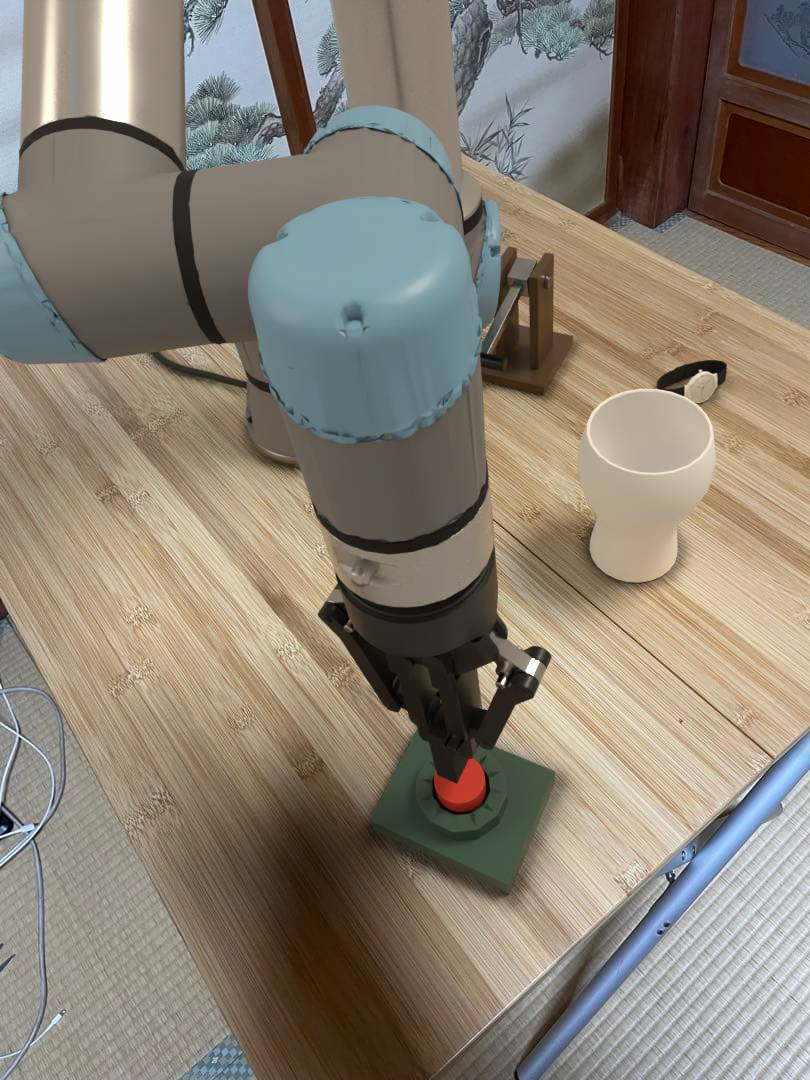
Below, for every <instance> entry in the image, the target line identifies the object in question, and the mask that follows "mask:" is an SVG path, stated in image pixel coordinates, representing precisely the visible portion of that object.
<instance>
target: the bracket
mask: <svg viewBox="0 0 810 1080" xmlns="http://www.w3.org/2000/svg"><path fill="white" fill-rule="evenodd" d="M500 256H501V276H500V289H499V298H498V304H497V309H496V313H495V316H494V318H493V320H494V319H495V317H496V315H497V313H498V311H499V309H500V307H501V305H502V303H503V301H504V299H505V297H506V295H507V293H508V291H509V288H508V281H507V276H508V274H509V272H510V270H511V268H512V266H513V264H514V262H515V260H516V258H517V257H518V248H517V247H514V246H507V247H506V249H505V250H504V252H503V253H502V254H501V255H500ZM554 273H555V254H554V253H552V252H544V253H543V255H542V256H541V257H540V259H539V260H538V261H537V265H536V267H535V268H534V270H533V271H532V273H531V274H530V276H529V297H528V308H529V309H528V310H529V312H528V313H529V314H528V315H529V316H528V317H529V319H528V320H529V326H527V325H522V324H520V313H519V311H520V309H519V308H520V307H519V302H518V303H517V305H516V307H515V309H514V311H513V313H512V315H511V317H510V319H509V321H508V323H507V325H506V327H505V329H504V331H503V333H502V335H501V337H500V339H499V341H498V343H497V345H496V347H495V349H494V351H493V353H492V354H493V355H497V356H502V357H506V358H507V359H508V363H507V368H506V370H505V371H504V372H499V371H495V370H490V369H486V368H481V374H482V382H486V383H490V384H493V385H498V386H503V387H508V388H510V389H511V388H512V389H516V390H521V391H524V392H528V393H533V394H537V395H541V396H544V395H545V394H546V392H547V390H548V389H549V387H550V385H551V383H552V382H553V380H554V378H555V377H556V374H557V373H558V371H559V369H560V368H561V367H562V365H563V362H564V361H565V359H566V357H567V356H568V354H569V352H570V350H571V348H572V347H573V345H574V335H572V334H567V333H562V332H558V331H554V291H555V290H554V287H555V286H554V285H555V284H554V283H555V281H554V278H555V276H554V275H555V274H554Z"/></svg>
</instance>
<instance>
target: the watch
mask: <svg viewBox="0 0 810 1080" xmlns="http://www.w3.org/2000/svg"><path fill="white" fill-rule="evenodd" d="M727 372H728V364H727V363H726V362H725V361H723V360H718V359H704V360H699V361H694V362H689V363H684V364H683V365H680V366H677V367H675V368H674V369H672V370H670V371H667V372H665V373H664V374H662V375H661V376H660V377H659V378H658V380H657V381H656V389H659V390H664V391H670V392H673V393H676V394H679V395H681V396H684V397H686V398H688V399H689V400H691V401H692V402H694V403H696V404H697V403H699V404H700V403H704V402H706V401H707V400H709V398H710V397H712V395H713V394H714V392H715V391H716V389H717V388H718V387H720V386H722V385H723V384H724V383H725V382H726V379H727ZM688 379H690V380H689V381H688V383H687V384H685V385H683V386H681V387H675V388H667V387H669V386H671V385H673V384H676V383H678V382H681V381H684V380H688Z"/></svg>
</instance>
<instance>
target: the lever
mask: <svg viewBox="0 0 810 1080" xmlns="http://www.w3.org/2000/svg"><path fill="white" fill-rule="evenodd" d="M537 264H538V260H536V259H530V258H526V257H525V258H524V257H518V256H517V258H516V260H515V262H514V264H513V266H512V268H511V270H510V272H509V274H508V276H507V281H508V288H509V291H508V293H507V295H506V297H505V299H504V301H503V303H502V305H501V307H500V309H499V311H498V313H497V315H496V317H495V319H494V318H493V320H492V322H491V325H490V327H489V329H488V331H487V333H486V334H485V336H484V338H483V339H482V349H481V353H480V361H481V368H486V369H490V370H495V371H499V372H504V371H505V370H506V368H507V363H508V359H507V358H506V357H502V356H497V355H493V354H492V353H493V351H494V349H495V347H496V345H497V343H498V341H499V339H500V337H501V335H502V333H503V331H504V329H505V327H506V325H507V323H508V321H509V319H510V317H511V315H512V313H513V311H514V309H515V307H516V305H517V303H518V304H519V301H520V299H521V297H524V298H529V276H530V274H531V273H532V271H533V270H534V268H535V267H536V265H537Z"/></svg>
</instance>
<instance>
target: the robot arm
mask: <svg viewBox="0 0 810 1080" xmlns="http://www.w3.org/2000/svg"><path fill="white" fill-rule="evenodd" d="M184 2H185V0H23V19H22V21H23V22H22V24H23V25H22V60H21V61H22V63H21V98H20V99H21V100H20V103H21V104H20V135H19V138H20V140H19V141H20V142H19V150H18V172H17V190H16V191H14V192H12V193H7V192H6V191H3V192H0V355H1V356H3V357H5V358H6V359H8V360H10V361H11V362H15V363H19V364H22V365H51V364H52V365H55V364H59V365H60V364H89V363H95V364H101V363H106V361H108V360H109V359H116V358H122V357H129V356H137V355H143V354H149V353H150V354H151V355H152V356H153V357H154V358H155V359H156V360H157V361H158V362H159V363H160V364H162V365H164V366H166V367H167V368H170V369H172V370H173V371H176V372H180V373H183V374H186V375H191V376H195V377H200V378H202V379H203V378H204V379H208V380H211V381H214V382H218V383H222V384H226V385H229V386H234V387H236V388H240V389H245V390H246V397H245V398H246V400H245V405H246V407H245V423H246V427H247V431H248V434H249V437H250V439H251V441H252V444H253V445H254V447H255V449H256V450H257V451H258V452H259V454H261V456H263V457H265V458H266V459H268V460H269V461H271V462H273V463H275V464H278V465H282V466H285V467H291V468H299V469H300V472H301V476H302V478H303V480H304V483H305V484H304V485H305V486H306V489H307V492H308V495H309V498H310V502H311V505H312V508H313V510H314V514H315V517H316V519H317V522H318V525H319V528H320V531H321V534H322V537H323V540H324V543H325V546H326V550H327V551H328V555H329V558H330V562H331V564H332V568H333V570H334V575H335V579H336V582H337V583H336V584H335V586H334V588H333V589H332V590H331V592H330V594H329V595H328V597H327V598H326V600H325V601H324V603H323V604H322V606H321V608H320V609H319V611H317V616H318V619H320V620H321V621H322V622H323V623H324V624H325V625H326V626H327V628H328V629H330V630H331V631H332V632H333V633H334V634H335V635H336V636H337V637H338V638H339V639H340V641H341V643H342V644H343V646H344V647H345V649H346V650H347V652H348V654H349V655H350V656H351V658H352V659H353V661H354V663H355V664H356V666H357V667H358V669H359V670H360V672H361V673H362V675H363V677H364V678H365V679H366V681H367V682H368V684H369V686H370V687H371V689H372V690H373V692H374V693H375V695H376V696H377V698H378V699H379V701H380V702H381V704H382V705H383V706H384V708H386V710H388V711H390V712H392V713H393V712H394V713H399V712H400V711H401V709H402V710H404V711H406V712H407V714H408V719H409V720H410V722H411V723H413V724H414V725H415V726H416V728H418V732H419V736H420V737H421V738H422V739H423V740H424V741H427V742H429V744H430V748H431V752H432V756H433V760H434V764H435V768H436V772H437V775H438V776H440V777H442V778H445V779H447V780H449V781H452V782H454V783H456V784H457V783H458V781H459V779H460V777H461V775H462V773H463V771H464V769H465V766H466V764H467V762H468V760H469V759H472V758H473V757H474V755H475V753H476V750H477V748H478V746H480V747H482V748H484V749H486V750H492V749H493V748H494V746H495V747H496V744H497V742H498V740H499V738H500V736H501V734H502V733H503V731H504V728H505V727H506V725H507V723H508V721H509V719H510V717H511V715H512V713H513V712H514V709H515V707H516V706H517V705H520V704H522V703H525V702H527V701H530V700H532V699H533V698H535V696H536V694H537V691H538V689H539V687H540V685H541V682H542V680H543V678H544V675H545V674H546V672H547V669H548V667H549V664H551V660H552V656H553V655H552V654H551V652H549V651H548V650H547V649H546V648H545V647H542V646H540V645H539V646H538V645H532V646H529V647H527V648H525V649H523V648H521V647H520V646H517V645H516V644H514V643H513V642H511V641H510V640H508V637H509V631H508V627H507V624H506V623H505V622H504V620H503V619H502V618H501V616H500V614H499V612H498V601H499V581H498V569H497V567H498V566H497V556H496V554H497V553H496V546H495V526H494V515H493V506H492V495H491V486H490V477H489V466H488V465H489V464H488V459H487V455H486V454H487V450H486V432H485V431H486V430H485V427H486V426H485V409H484V408H485V407H484V389H483V381H482V374H481V361H480V353H481V349H482V342H483V336H482V335H483V330H485V329H486V328H487V327H488V326H489V325H490V324H492V322H493V321H494V316H495V313H496V309H497V304H498V298H499V289H500V276H501V256H502V255H501V251H502V223H501V214H500V210H499V205H498V204H497V203H496V201H495V200H493V199H488V198H485V197H483V190H482V186H481V183H480V182H479V180H478V179H477V178H476V177H475V176H474V175H472V174H471V173H470V172H468V171H467V170H465V169H464V168H463V161H462V160H463V159H462V149H461V148H462V147H461V137H460V135H461V134H460V123H459V122H460V121H459V112H458V110H459V109H458V98H457V97H458V96H457V83H456V75H455V74H456V72H455V60H454V50H453V35H452V25H451V24H452V23H451V11H450V0H329V3H330V8H331V15H332V20H333V25H334V31H335V37H336V43H337V48H338V53H339V60H340V66H341V70H342V71H341V72H342V77H343V80H344V87H345V93H346V97H347V104H348V109H346V110H344V111H343V112H340V113H338V114H337V115H336V116H335V117H333V118H331V119H329V120H327V121H326V122H325V123H324V124H323V125H322V127H320V128H318V129H317V130H316V132H315V133H314V135H313V136H312V138H311V139H310V140H309V142H308V143H307V146H306V147H305V148H304V149H303V153H302V154H296V155H288V156H281V157H273V158H268V159H266V158H265V159H261V160H253V161H246V162H239V163H233V164H227V165H220V166H214V167H206V168H196V169H195V168H194V169H189V170H188V169H187V123H186V121H187V120H186V119H187V117H186V66H185V65H186V63H185V60H186V58H185V7H184V5H185V4H184ZM213 344H214V345H223V344H232V345H233V344H234V346H235V348H236V351H237V354H238V357H239V358H240V362H241V364H242V367H243V370H244V373H245V376H246V380H242V379H237V378H234V377H229V376H227V375H222V374H219V373H215V372H211V371H207V370H202V369H198V368H194V367H190V366H186V365H183V364H180V363H178V362H175V361H173V360H171V359H169V358H167V357H165V356H164V355H163V354H162V353H161V352H163V351H164V352H165V351H172V350H179V349H186V348H193V347H200V346H209V345H213ZM493 662H494V663H495V665H496V668H495V670H494V672H495V674H496V676H498V677H497V679H496V681H495V683H494V685H495V687H496V690H495V693H494V695H493V696H492V699H491V701H490V703H489V705H488V707H487V709H485V708H483V702H482V696H481V695H482V694H481V688H480V680H479V673H478V669H480V668H482V667H484V666H487V665H489V664H491V663H493Z"/></svg>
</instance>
